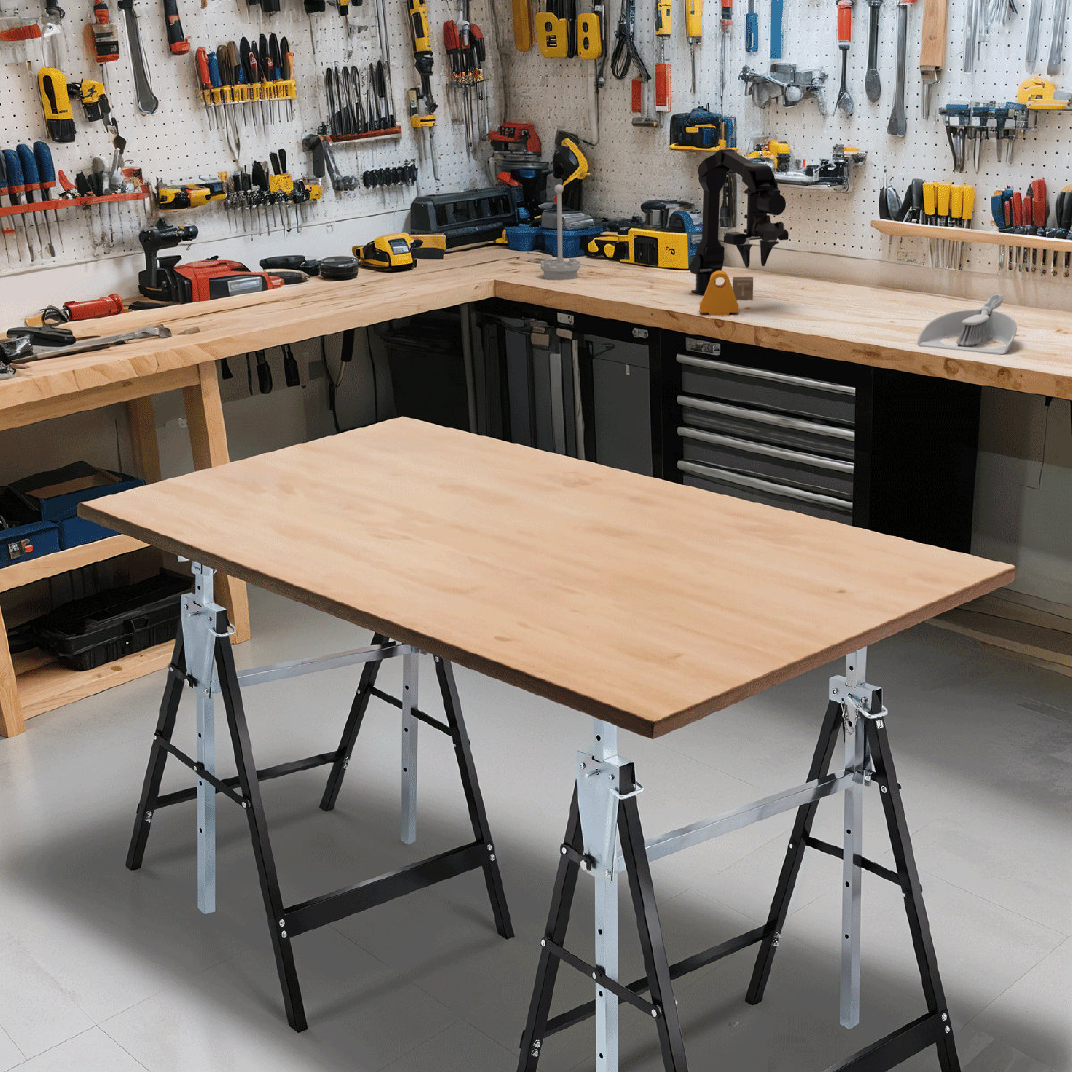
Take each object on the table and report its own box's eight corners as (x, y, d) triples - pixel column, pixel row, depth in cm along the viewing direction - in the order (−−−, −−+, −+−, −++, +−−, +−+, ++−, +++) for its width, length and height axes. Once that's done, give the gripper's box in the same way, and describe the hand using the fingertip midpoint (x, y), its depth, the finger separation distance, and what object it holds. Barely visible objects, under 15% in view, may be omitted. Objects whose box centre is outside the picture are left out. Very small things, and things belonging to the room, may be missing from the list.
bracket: (736, 310, 394) (738, 268, 390) (738, 315, 387) (739, 273, 383) (699, 310, 395) (700, 269, 391) (700, 315, 388) (701, 273, 384)
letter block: (732, 296, 414) (732, 276, 412) (752, 296, 413) (753, 276, 411) (732, 300, 408) (732, 280, 406) (752, 300, 407) (753, 280, 405)
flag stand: (586, 278, 449) (585, 184, 438) (550, 281, 444) (548, 187, 433) (570, 272, 460) (569, 181, 449) (534, 275, 455) (532, 183, 445)
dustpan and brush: (913, 346, 346) (916, 309, 343) (954, 323, 372) (957, 288, 369) (1005, 356, 334) (1009, 318, 331) (1041, 331, 360) (1045, 295, 357)
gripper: (745, 217, 375) (743, 273, 381) (801, 212, 383) (798, 267, 388) (723, 212, 385) (721, 268, 390) (778, 207, 392) (776, 262, 398)
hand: (755, 266), depth 391 cm, fingers open, 5 cm apart
